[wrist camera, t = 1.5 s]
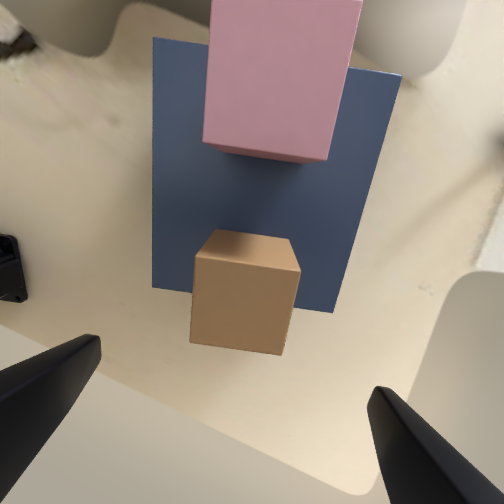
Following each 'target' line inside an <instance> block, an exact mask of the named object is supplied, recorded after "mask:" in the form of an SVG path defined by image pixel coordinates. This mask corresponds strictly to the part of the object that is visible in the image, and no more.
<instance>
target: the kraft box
mask: <svg viewBox="0 0 504 504" xmlns="http://www.w3.org/2000/svg"><path fill="white" fill-rule="evenodd" d="M300 275H301V270H300V267H299V265H298V262H297V259H296V257H295V254H294V252H293V249H292V247H291V244H290V242H289V239H284V238H277V237H270V236H263V235H257V234H250V233H243V232H236V231H229V230H222V229H216V230H215V231H214V232H213V234H212V235H211V236H210V237H209V239H208V240H207V241H206V243H205V244H204V245H203V246H202V248H201V249H200V250H199V252H198V253H197V254H196V256H195V264H194V279H193V294H192V309H191V324H190V339H189V341H190V343H195V344H203V345H210V346H217V347H224V348H231V349H238V350H245V351H252V352H259V353H266V354H273V355H280V356H281V355H282V354H283V350H284V345H285V341H286V336H287V332H288V328H289V323H290V319H291V314H292V310H293V306H294V301H295V297H296V292H297V288H298V284H299V279H300Z"/></svg>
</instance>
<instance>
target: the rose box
mask: <svg viewBox="0 0 504 504" xmlns="http://www.w3.org/2000/svg"><path fill="white" fill-rule="evenodd" d="M361 8H362V0H212V2H211V17H210V32H209V47H208V62H207V78H206V93H205V108H204V123H203V139H202V142H203V143H205V144H207V145H209V146H211V147H214V148H216V149H218V150H220V151H222V152H225V153H232V154H238V155H245V156H252V157H258V158H265V159H272V160H278V161H285V162H292V163H299V164H308V163H315V162H321V161H326V160H327V157H328V153H329V148H330V144H331V140H332V135H333V131H334V126H335V122H336V118H337V113H338V109H339V104H340V100H341V96H342V91H343V87H344V82H345V78H346V74H347V69H348V65H349V60H350V56H351V52H352V47H353V42H354V38H355V34H356V30H357V25H358V20H359V16H360V12H361Z"/></svg>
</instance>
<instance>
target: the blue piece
mask: <svg viewBox="0 0 504 504" xmlns="http://www.w3.org/2000/svg"><path fill="white" fill-rule="evenodd" d="M208 47H209V45H203V44H196V43H190V42H183V41H177V40H170V39H164V38H157V37H153V179H152V287H154V288H161V289H168V290H175V291H182V292H189V293H193V279H194V264H195V256H196V254H197V253H198V252H199V250H200V249H201V248H202V246H203V245H204V244H205V243H206V241H207V240H208V239H209V237H210V236H211V235H212V234H213V232H214V231H215V230H216V229H222V230H229V231H236V232H243V233H250V234H257V235H263V236H270V237H277V238H284V239H289V242H290V244H291V247H292V249H293V252H294V254H295V257H296V259H297V262H298V265H299V267H300V270H301V275H300V279H299V284H298V288H297V292H296V297H295V301H294V306H293V307H294V308H301V309H308V310H315V311H321V312H328V313H333V311H334V308H335V304H336V301H337V298H338V294H339V291H340V287H341V284H342V280H343V277H344V274H345V270H346V267H347V263H348V260H349V257H350V253H351V250H352V246H353V243H354V240H355V236H356V233H357V229H358V226H359V222H360V219H361V216H362V212H363V209H364V205H365V202H366V199H367V195H368V192H369V188H370V185H371V182H372V178H373V175H374V171H375V168H376V164H377V161H378V158H379V154H380V151H381V147H382V144H383V141H384V137H385V134H386V130H387V127H388V124H389V120H390V117H391V113H392V110H393V106H394V103H395V100H396V96H397V93H398V89H399V86H400V83H401V79H402V75H398V74H392V73H385V72H379V71H372V70H366V69H359V68H353V67H348V69H347V74H346V78H345V82H344V87H343V91H342V96H341V100H340V104H339V109H338V113H337V118H336V122H335V126H334V131H333V135H332V140H331V144H330V148H329V153H328V157H327V160H326V161H321V162H315V163H308V164H299V163H292V162H285V161H278V160H272V159H265V158H258V157H252V156H245V155H238V154H232V153H225V152H222V151H220V150H218V149H216V148H214V147H211V146H209V145H207V144H205V143H203V142H202V139H203V123H204V108H205V93H206V78H207V62H208Z"/></svg>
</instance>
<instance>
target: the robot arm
mask: <svg viewBox="0 0 504 504" xmlns="http://www.w3.org/2000/svg"><path fill="white" fill-rule="evenodd" d="M0 300H3V301H10V302H17V303H22V302H24V301H25V300H27V292H26V286H25V281H24V276H23V271H22V265H21V260H20V255H19V250H18V245H17V241H16V239H15V238H14V237H13V236H10V235H4V234H0ZM100 360H101V341H100V337H99V336H97V335H91V334H84V335H82V336H79V337H77V338H75V339H73V340H70V341H68V342H66V343H63V344H61V345H59V346H56V347H54V348H52V349H49V350H47V351H45V352H42V353H40V354H38V355H36V356H33V357H31V358H29V359H26V360H24V361H22V362H19V363H17V364H15V365H12V366H10V367H8V368H5V369H3V370H1V371H0V503H1V502H2V500H3V499H4V498H5V496H6V495H7V494H8V492H9V491H10V490H11V488H12V487H13V486H14V484H15V483H16V482H17V480H18V479H19V478H20V476H21V475H22V474H23V472H24V471H25V470H26V468H27V467H28V466H29V464H30V463H31V462H32V460H33V459H34V458H35V456H36V455H37V454H38V452H39V451H40V450H41V448H42V447H43V446H44V444H45V443H46V441H47V440H48V439H49V438H50V436H51V435H52V434H53V432H54V431H55V430H56V428H57V427H58V426H59V424H60V423H61V422H62V420H63V419H64V417H65V416H66V415H67V413H68V412H69V410H70V409H71V407H72V406H73V404H74V403H75V401H76V399H77V398H78V396H79V395H80V393H81V392H82V390H83V388H84V387H85V385H86V384H87V382H88V380H89V379H90V377H91V376H92V374H93V372H94V371H95V369H96V368H97V366H98V364H99V362H100ZM367 413H368V417H369V422H370V426H371V431H372V435H373V440H374V444H375V449H376V453H377V458H378V462H379V466H380V470H381V473H382V477H383V480H384V483H385V487H386V490H387V493H388V496H389V499H390V503H391V504H504V494H503V493H502V492H501V491H500V490H499V489H498V488H496V487H495V486H494V485H493V484H492V483H491V482H490V481H489V480H488V479H487V478H486V477H485V476H484V475H483V474H482V473H481V472H479V471H478V470H477V469H476V468H475V467H474V466H473V465H472V464H471V463H470V462H469V461H468V460H467V459H466V458H464V457H463V456H462V455H461V454H460V453H459V452H458V451H457V450H456V449H455V448H454V447H453V446H452V445H451V444H450V443H448V442H447V441H446V440H445V439H444V438H443V437H442V436H441V435H440V434H439V433H438V432H437V431H436V430H435V429H433V428H432V427H431V426H430V425H429V424H428V423H427V422H426V421H425V420H424V419H423V418H422V417H421V416H419V415H418V414H417V413H416V412H415V411H414V410H413V409H412V408H411V407H410V406H409V405H408V404H407V403H406V402H405V401H403V400H402V399H401V398H400V397H399V396H398V395H397V394H396V393H395V392H394V391H393V390H392V389H390V388H387V387H382V386H376V387H375V388H374V390H373V392H372V395H371V397H370V399H369V401H368V404H367Z"/></svg>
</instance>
